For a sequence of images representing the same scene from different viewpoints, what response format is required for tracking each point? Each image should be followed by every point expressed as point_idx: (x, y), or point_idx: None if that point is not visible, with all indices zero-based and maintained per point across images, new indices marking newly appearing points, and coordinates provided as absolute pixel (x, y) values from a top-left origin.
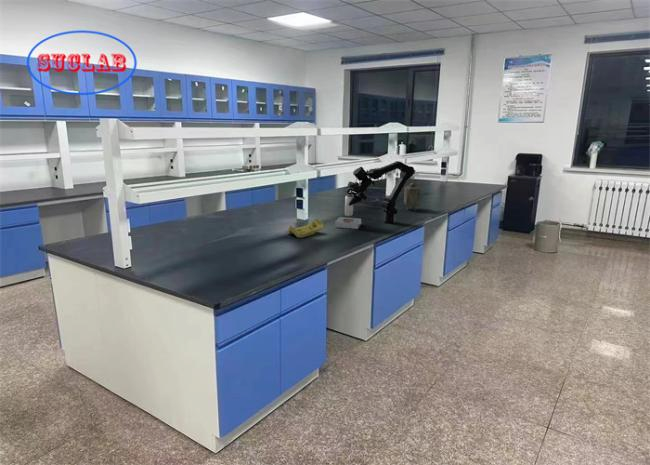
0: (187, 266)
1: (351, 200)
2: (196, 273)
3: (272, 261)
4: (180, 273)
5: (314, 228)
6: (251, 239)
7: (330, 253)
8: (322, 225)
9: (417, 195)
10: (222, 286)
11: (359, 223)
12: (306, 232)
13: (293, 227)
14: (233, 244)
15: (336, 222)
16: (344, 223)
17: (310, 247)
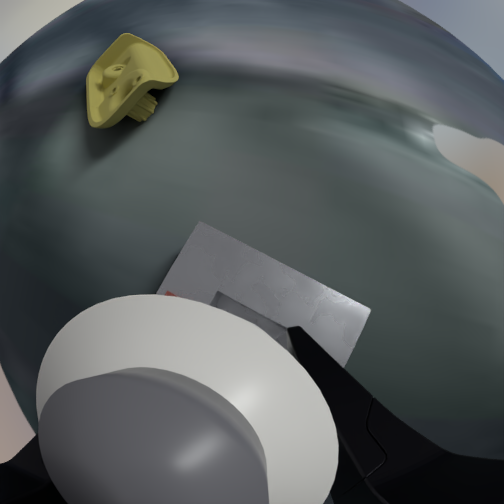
0: (75, 13)
1: None
2: (49, 28)
3: (18, 75)
4: (60, 19)
5: (107, 100)
6: (151, 13)
7: None
8: (99, 122)
9: None
10: (8, 60)
11: None
12: (87, 83)
13: (114, 42)
14: (132, 7)
15: (194, 232)
16: (161, 290)
17: (20, 116)
